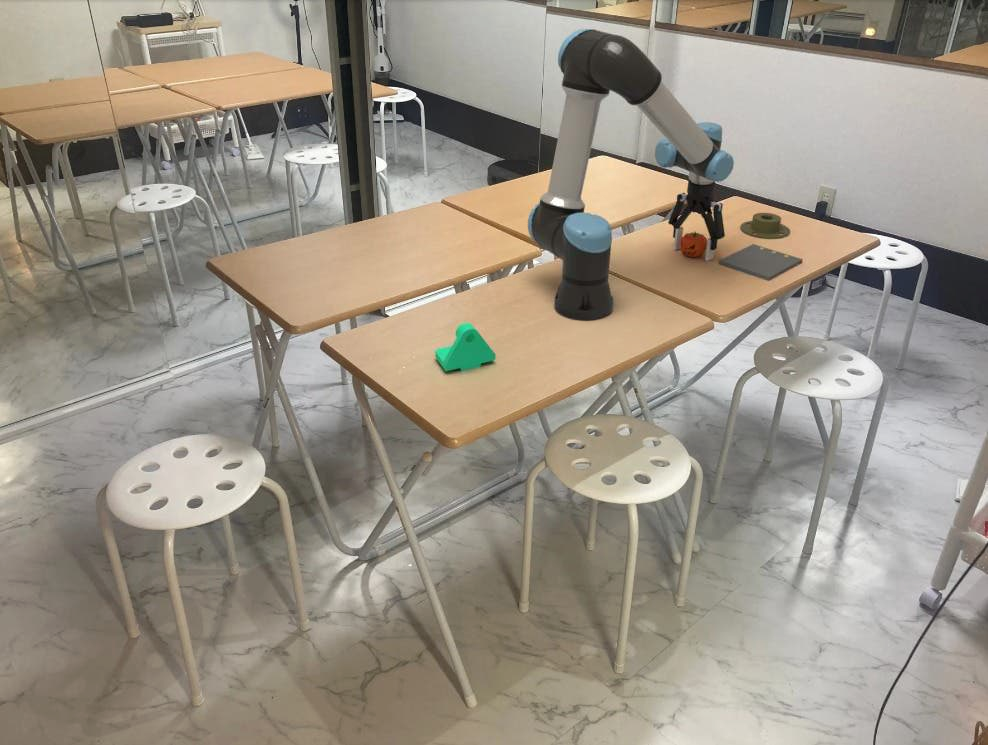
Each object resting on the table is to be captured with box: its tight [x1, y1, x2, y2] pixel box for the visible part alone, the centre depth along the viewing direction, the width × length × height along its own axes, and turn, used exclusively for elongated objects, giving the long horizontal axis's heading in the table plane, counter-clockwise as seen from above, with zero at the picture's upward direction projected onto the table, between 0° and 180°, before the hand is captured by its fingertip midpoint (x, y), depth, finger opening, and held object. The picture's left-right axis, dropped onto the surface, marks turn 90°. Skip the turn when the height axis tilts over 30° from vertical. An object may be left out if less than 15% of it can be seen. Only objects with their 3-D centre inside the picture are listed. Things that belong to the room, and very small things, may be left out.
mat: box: [718, 243, 804, 281], centre depth 228 cm, size 18×16×1 cm
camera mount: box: [434, 322, 496, 372], centre depth 179 cm, size 12×8×10 cm, turn 114°
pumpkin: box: [680, 231, 708, 258], centre depth 232 cm, size 8×8×7 cm
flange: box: [739, 212, 791, 240], centre depth 250 cm, size 5×15×15 cm
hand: (692, 254), depth 234 cm, fingers open, 10 cm apart
